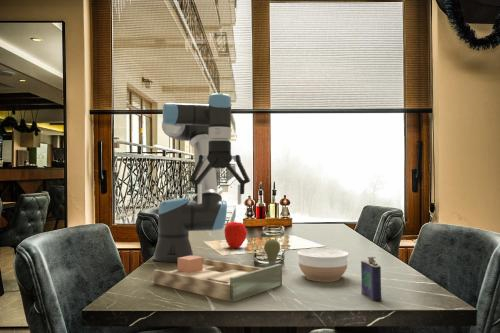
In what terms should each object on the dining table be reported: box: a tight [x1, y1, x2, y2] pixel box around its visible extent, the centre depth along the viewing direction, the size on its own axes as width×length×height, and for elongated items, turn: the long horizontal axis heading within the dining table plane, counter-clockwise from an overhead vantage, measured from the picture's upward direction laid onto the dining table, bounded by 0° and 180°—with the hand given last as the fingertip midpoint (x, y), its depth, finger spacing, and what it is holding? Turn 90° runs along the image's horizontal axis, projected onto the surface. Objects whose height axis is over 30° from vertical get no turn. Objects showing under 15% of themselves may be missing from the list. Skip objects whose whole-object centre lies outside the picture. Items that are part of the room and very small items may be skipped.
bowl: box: [297, 247, 350, 283], centre depth 136 cm, size 16×16×8 cm
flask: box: [360, 256, 383, 303], centre depth 114 cm, size 9×3×11 cm, turn 8°
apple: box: [224, 221, 248, 249], centre depth 193 cm, size 10×10×12 cm
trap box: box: [153, 258, 283, 303], centre depth 127 cm, size 31×22×6 cm
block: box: [177, 255, 204, 273], centre depth 135 cm, size 6×6×4 cm
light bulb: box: [263, 238, 281, 267], centre depth 151 cm, size 6×6×10 cm
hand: (219, 204), depth 144 cm, fingers open, 13 cm apart
